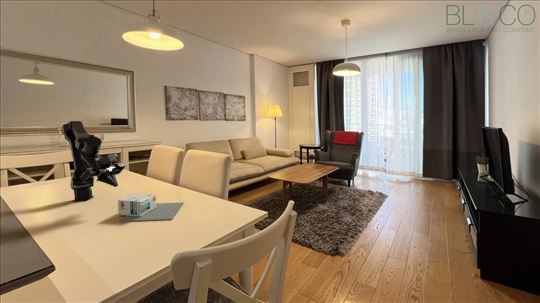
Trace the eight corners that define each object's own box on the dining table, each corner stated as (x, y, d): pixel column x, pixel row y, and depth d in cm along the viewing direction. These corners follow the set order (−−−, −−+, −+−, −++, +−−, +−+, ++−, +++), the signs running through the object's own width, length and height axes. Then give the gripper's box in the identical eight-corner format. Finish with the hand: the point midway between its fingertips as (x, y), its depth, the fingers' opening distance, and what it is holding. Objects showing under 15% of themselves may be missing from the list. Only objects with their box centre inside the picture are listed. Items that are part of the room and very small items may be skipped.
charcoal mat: (120, 222, 98) (119, 220, 98) (140, 204, 118) (140, 203, 118) (172, 219, 101) (172, 218, 101) (183, 203, 120) (183, 202, 120)
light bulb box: (118, 215, 104) (141, 217, 102) (117, 199, 103) (140, 201, 101) (135, 206, 114) (157, 208, 113) (135, 192, 113) (156, 194, 112)
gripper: (83, 150, 99) (108, 179, 98) (121, 145, 117) (142, 169, 116) (69, 168, 101) (93, 197, 100) (108, 161, 119) (129, 185, 118)
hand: (116, 186), depth 109 cm, fingers closed
